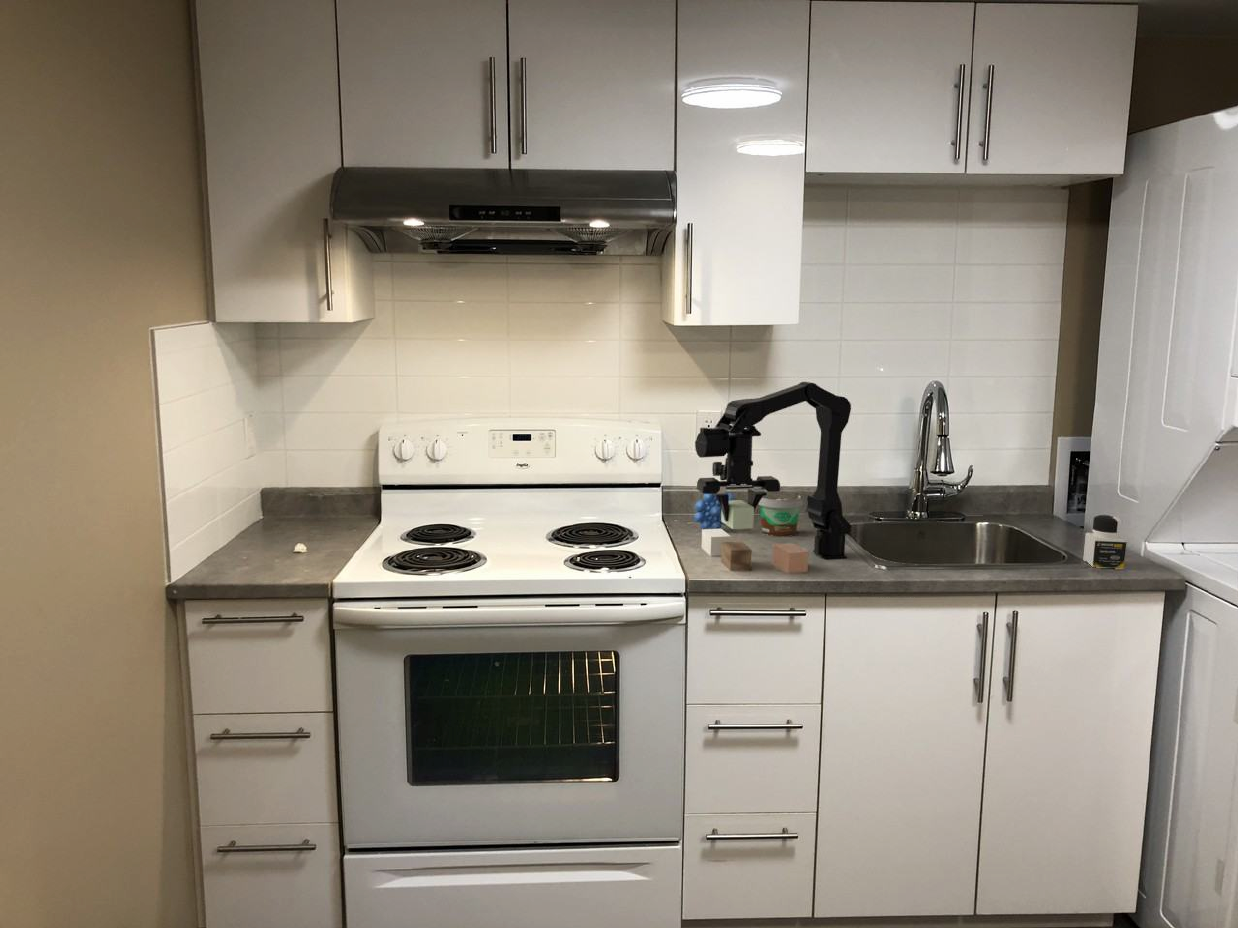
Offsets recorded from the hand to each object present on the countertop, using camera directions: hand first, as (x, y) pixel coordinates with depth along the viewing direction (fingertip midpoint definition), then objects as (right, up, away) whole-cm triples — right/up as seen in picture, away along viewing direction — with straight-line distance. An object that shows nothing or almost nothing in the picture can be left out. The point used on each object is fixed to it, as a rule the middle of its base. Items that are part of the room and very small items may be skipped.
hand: (737, 520), depth 231 cm
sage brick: (0, -1, 0) cm, 1 cm away
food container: (+16, -6, +32) cm, 36 cm away
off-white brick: (-4, -9, +14) cm, 17 cm away
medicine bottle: (+89, -11, +5) cm, 90 cm away
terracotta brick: (+12, -11, 0) cm, 17 cm away
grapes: (-2, -5, +36) cm, 36 cm away
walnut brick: (0, -11, +2) cm, 11 cm away
